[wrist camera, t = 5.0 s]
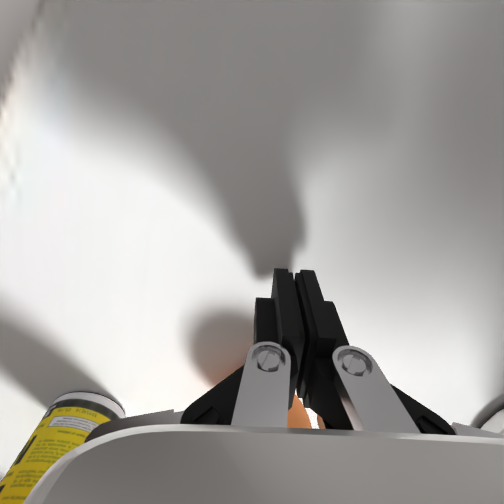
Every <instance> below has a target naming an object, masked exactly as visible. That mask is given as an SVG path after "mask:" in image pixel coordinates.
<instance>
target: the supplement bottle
mask: <svg viewBox="0 0 504 504" xmlns="http://www.w3.org/2000/svg"><path fill="white" fill-rule="evenodd" d="M121 418H126V417H125V414H124V412H123V410H122V409H121V407H120V406H119V405H117V404H116V403H115V402H114V401H112V400H110V399H108V398H106V397H104V396H101V395H98V394H94V393H86V392H74V393H68V394H65V395H63V396H61V397H59V398H58V399H56V400H55V401H54V402H53V404H52V405H51V406H50V408H49V409H48V411H47V412H46V414H45V415H44V417H43V418H42V420H41V422H40V423H39V425H38V426H37V428H36V429H35V431H34V432H33V434H32V435H31V437H30V438H29V440H28V442H27V443H26V445H25V446H24V448H23V449H22V451H21V452H20V453H19V455H18V457H17V458H16V460H15V461H14V463H13V464H12V466H11V468H10V469H9V471H8V472H7V474H6V475H5V477H4V478H3V480H2V481H1V483H0V504H23V502H24V501H25V499H26V498H27V496H28V495H29V494H30V492H31V491H32V489H33V488H34V487H35V485H36V484H37V483H38V481H39V480H40V479H41V478H42V476H43V475H44V474H45V473H46V471H47V470H48V469H49V468H50V467H51V466H52V465H53V464H54V463H55V462H56V461H57V460H58V459H60V458H61V457H62V456H64V455H65V454H66V453H68V452H69V451H71V450H73V449H74V448H76V447H78V446H80V445H82V444H84V441H85V439H86V437H87V436H88V435H89V434H90V432H91V431H92V430H93V429H94V428H96V427H97V426H99V425H100V424H102V423H105V422H107V421H110V420H116V419H121Z"/></svg>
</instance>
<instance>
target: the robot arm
mask: <svg viewBox="0 0 504 504" xmlns="http://www.w3.org/2000/svg"><path fill="white" fill-rule="evenodd" d="M295 390H297V396H298V398H302V399H303V405H304V408H311V409H312V410H313V411H314V412H315V413H316V414H317V422H318V426H319V428H320V429H311V428H287V419H288V411H289V410H290V409H291V408H292V404H293V399H294V395H295ZM23 504H504V408H503V409H502V410H500V411H499V412H497V413H496V414H495V415H494V416H492V417H491V418H490V419H489V420H488V421H487V422H486V423H485V424H483V426H482V427H481V428H480V429H479V428H475V427H471V426H467V425H463V424H459V423H455V422H453V424H452V425H449V424H448V423H447V422H446V421H445V420H444V419H443V418H441V417H440V416H439V415H437V414H436V413H434V412H433V411H431V410H430V409H428V408H427V407H425V406H423V405H422V404H420V403H419V402H417V401H416V400H414V399H413V398H411V397H410V396H408V395H407V394H405V393H404V392H402V391H401V390H399V389H398V388H396V387H395V386H393V385H391V384H390V383H389V382H388V380H387V379H386V377H385V375H384V374H383V372H382V371H381V369H380V367H379V366H378V364H377V363H376V361H375V360H374V359H373V357H372V356H371V355H370V354H369V353H367V352H366V351H364V350H362V349H360V348H358V347H354V346H350V345H349V343H348V340H347V337H346V335H345V332H344V329H343V327H342V324H341V321H340V319H339V316H338V313H337V311H336V308H335V305H334V303H333V302H332V301H324V299H323V296H322V293H321V290H320V287H319V284H318V281H317V277H316V274H315V272H314V270H300V273H296V274H295V279H294V278H293V273H290V272H288V269H278V268H275V269H274V275H273V285H272V294H271V298H256V302H255V315H254V345H253V346H252V347H251V348H250V349H249V351H248V353H247V357H246V361H245V365H243V366H242V367H241V368H239V369H238V370H237V371H235V372H234V373H233V374H231V375H230V376H228V377H227V378H226V379H224V380H223V381H222V382H220V383H219V384H218V385H216V386H215V387H214V388H212V389H211V390H209V391H208V392H207V393H205V394H204V395H203V396H201V397H200V398H199V399H197V400H196V401H195V402H193V403H192V404H191V405H190V406H189V407H188V408H187V409H186V410H185V411H181V412H175V413H174V409H172V410H167V411H161V412H155V413H150V414H144V415H138V416H133V417H127V418H121V419H116V420H110V421H107V422H105V423H102V424H100V425H99V426H97V427H96V428H94V429H93V430H92V431H91V432H90V434H89V435H88V436H87V437H86V439H85V441H84V444H82V445H80V446H78V447H76V448H74V449H73V450H71V451H69V452H68V453H66V454H65V455H64V456H62V457H61V458H60V459H58V460H57V461H56V462H55V463H54V464H53V465H52V466H51V467H50V468H49V469H48V470H47V471H46V473H45V474H44V475H43V476H42V478H41V479H40V480H39V481H38V483H37V484H36V485H35V487H34V488H33V489H32V491H31V492H30V494H29V495H28V496H27V498H26V499H25V501H24V502H23Z"/></svg>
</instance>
